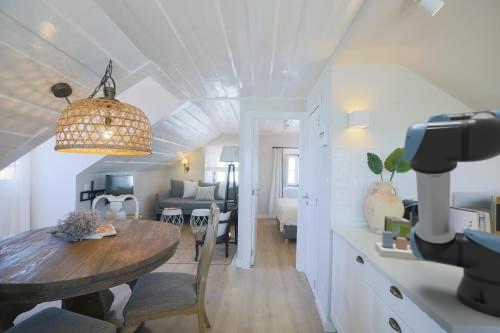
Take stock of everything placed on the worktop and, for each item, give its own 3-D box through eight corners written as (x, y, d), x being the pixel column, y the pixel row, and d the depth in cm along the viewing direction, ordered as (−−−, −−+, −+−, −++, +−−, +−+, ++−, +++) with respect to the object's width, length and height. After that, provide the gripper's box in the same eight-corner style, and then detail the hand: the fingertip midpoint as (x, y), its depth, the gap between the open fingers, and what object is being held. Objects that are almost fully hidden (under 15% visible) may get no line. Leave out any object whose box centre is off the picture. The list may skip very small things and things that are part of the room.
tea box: (411, 247, 139) (412, 221, 139) (392, 246, 141) (392, 220, 141) (401, 239, 153) (401, 216, 153) (383, 238, 155) (383, 215, 155)
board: (431, 261, 118) (431, 254, 118) (381, 256, 124) (381, 250, 124) (419, 251, 132) (419, 245, 132) (375, 247, 137) (375, 242, 137)
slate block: (393, 247, 127) (393, 233, 127) (384, 246, 128) (384, 232, 128) (390, 244, 131) (390, 231, 131) (382, 244, 132) (382, 231, 132)
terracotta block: (407, 253, 125) (407, 239, 125) (398, 252, 126) (398, 238, 126) (404, 250, 129) (404, 237, 129) (395, 250, 130) (396, 236, 130)
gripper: (457, 148, 101) (456, 205, 101) (441, 150, 114) (441, 201, 113) (436, 148, 103) (435, 204, 103) (423, 150, 116) (422, 200, 115)
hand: (438, 203), depth 108 cm, fingers closed
